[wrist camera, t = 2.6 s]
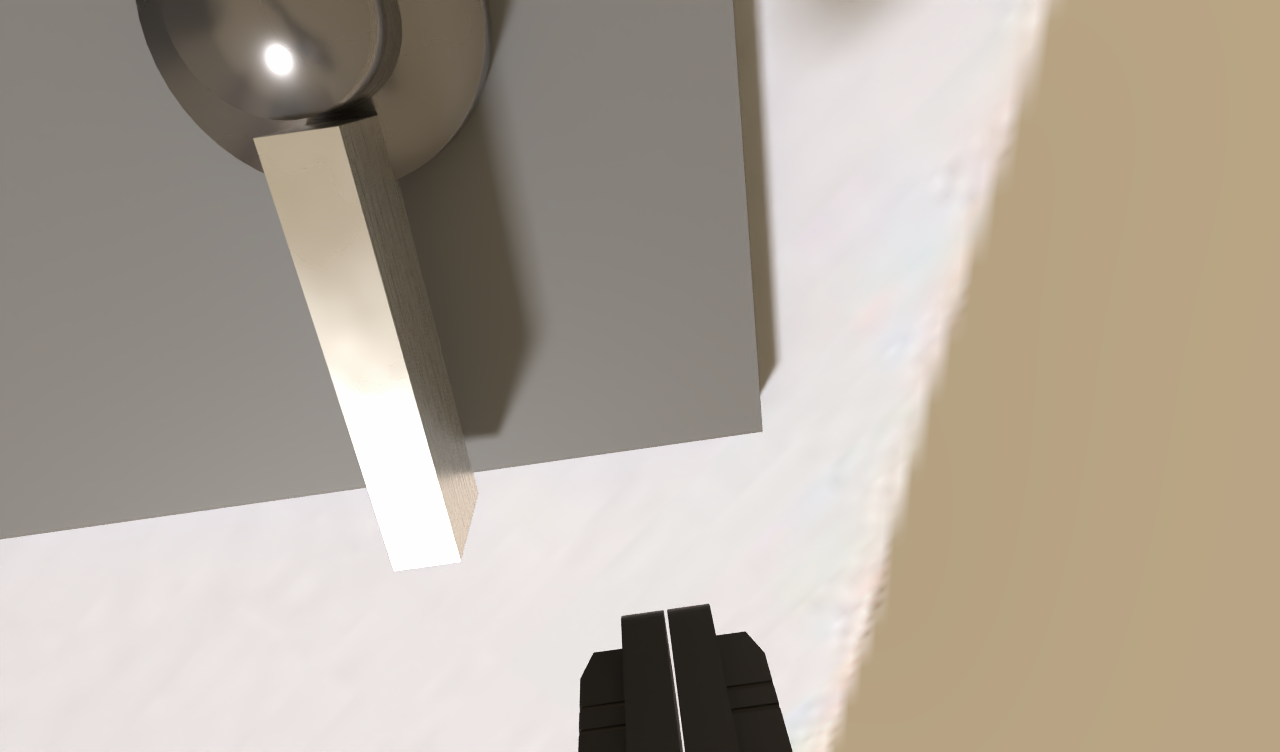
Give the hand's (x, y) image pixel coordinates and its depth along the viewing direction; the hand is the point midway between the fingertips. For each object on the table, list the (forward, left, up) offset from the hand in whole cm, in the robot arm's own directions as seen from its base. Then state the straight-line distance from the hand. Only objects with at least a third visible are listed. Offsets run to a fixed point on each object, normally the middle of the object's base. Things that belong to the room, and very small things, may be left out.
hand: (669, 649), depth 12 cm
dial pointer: (-6, -6, -9) cm, 12 cm away
